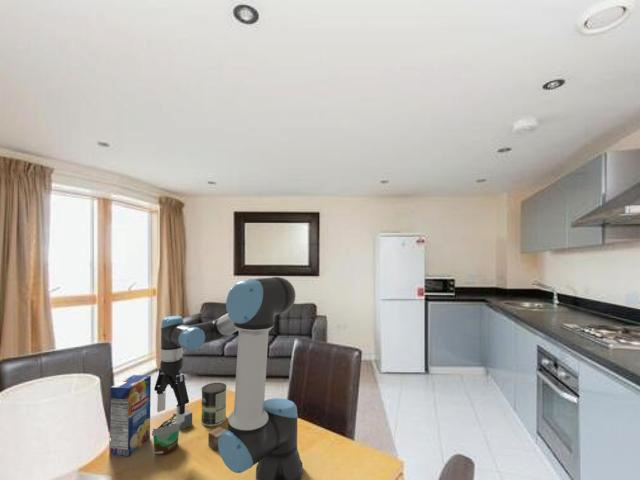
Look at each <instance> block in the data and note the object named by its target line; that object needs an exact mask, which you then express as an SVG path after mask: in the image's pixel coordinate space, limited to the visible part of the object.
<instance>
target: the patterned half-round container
mask: <svg viewBox="0 0 640 480" xmlns="http://www.w3.org/2000/svg"><path fill="white" fill-rule="evenodd" d="M181 423H182V422H181ZM181 423H179V424H176V414H175V413H173V415H172V416H171V417H170V418H168V419H166V420H164V421H163V423H161V425H159V426H158V427H157V428H152V433H151V436H153V439H152V440H153V453H154V457H161V456H165V455H166V456H167V455H169V454H171V453H173V452H175V450H176V449H177V448H178V447H179V446H178V444H179V437H180V435H179V434H180V432H179V431H180V429H179V427H180V426H181Z"/></svg>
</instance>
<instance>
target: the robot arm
mask: <svg viewBox="0 0 640 480" xmlns="http://www.w3.org/2000/svg"><path fill="white" fill-rule="evenodd" d="M295 300H296V290H295V287H294V285H293V284H292V283H291V282H290V281H289V280H287V279H285V278H284V277H279V276H272V277H264V278H263V277H262V278H261V277H260V278H259V277H258V278H248V279H245V280H240V281H238V282H236V283H235V284H234V285H233V286H232V287H231V288H230V290H229V291H228V293H227V296H226V301H225V302H226V303H225V308H226V312H227V313H225V314H224V315H221V317H218V318H216V319H214V320H211V321H206V322H202V323H197V324H196V323H195V324H192V325H187V324H184V323H185V321H184V318H183V316H180V315H172V316H171V315H170V316H169V315H168V316H166V317H164V318H162V320H161V324H160V325H161V327H160V366H159V367H160V368H159V369H158V375H157V379H156V381H155V386H154V392H156V394H157V409H156V410H157V411H156V413H160V412H163V411H165V410H166V389H167V387H168V386H170V388H171V389H172V391H173V392H174V396H175V400H176V402H177V405H175V406H176V424H179V423H181V422H184V421H185V408H186V405H187V404H189V403H190V400H189V396H188V395H189V394H188V390H187V385H186V381H185V374H181V375H180V371H181V369H183V364H184V362H183V352H184V351H183V349H184V350H189V351H190V350H192V351H196V350H199V348H201V347H202V346H203V345H204V344H208V343H211V342H215V341H219V340H225V339H227V338H230V337H232V335H233V334H234V333H236V332H237V331H238V342H237V353H236V354H237V356H236V373H235V388H234V389H235V390H234V406H233V411H232V412H231V413H230V414H229V415H228V418H227V429H225V430H226V431H223V432H222V433H221V434H220V436H219V438H218V449H219V450H218V453H219V456H220V457H221V460H222V462H223V463H224V465H225V466H226V468H228V469H229V470H230V471H231V472H233V473H235V474H241V473H242V474H243V473H244V472H245V471H247V470H250V469H251V468H252V467H254V466H255V465H256V468H255V480H302V478H303V469H304V466H303V462H302V459H301V456H300V453H299V449H298V417H299V416H298V407H297V404H296V403H295V402H294V401H292V400H291V399H290V400H289V399H286V398H280V397H275V398H269V399H266V400H265V396H266V381H267V380H266V379H267V378H266V377H267V363H268V362H267V361H268V344H269V332H270V330H272V329H273V328H274V326H275V317H276V316H278V315H281V314H284V313H286V312H288V311H289V310H291V308H292V307H293V306H294V304H295Z"/></svg>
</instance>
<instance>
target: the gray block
mask: <svg viewBox="0 0 640 480" xmlns="http://www.w3.org/2000/svg"><path fill="white" fill-rule="evenodd" d="M174 414H176V413H174ZM192 425H193V412H192V411H191V410H189V409H185V421H184V422H182V423H181V426H180V427H179V430H183V429H185V428H187V427H189V426H192Z"/></svg>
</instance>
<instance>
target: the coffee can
mask: <svg viewBox="0 0 640 480" xmlns="http://www.w3.org/2000/svg"><path fill="white" fill-rule="evenodd" d="M226 419H227V385H226V383H223V382H211V383H208V384H205V385H203V386H202V387H201V420H200V421H201V423H200V424H202V426H205V427H215V426H219V425H221V424H223V423H225V421H227V420H226Z"/></svg>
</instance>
